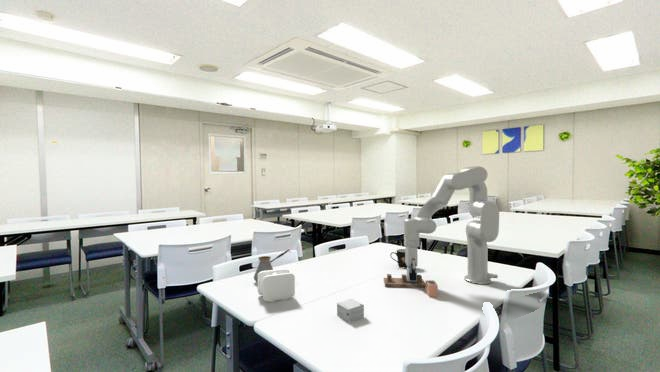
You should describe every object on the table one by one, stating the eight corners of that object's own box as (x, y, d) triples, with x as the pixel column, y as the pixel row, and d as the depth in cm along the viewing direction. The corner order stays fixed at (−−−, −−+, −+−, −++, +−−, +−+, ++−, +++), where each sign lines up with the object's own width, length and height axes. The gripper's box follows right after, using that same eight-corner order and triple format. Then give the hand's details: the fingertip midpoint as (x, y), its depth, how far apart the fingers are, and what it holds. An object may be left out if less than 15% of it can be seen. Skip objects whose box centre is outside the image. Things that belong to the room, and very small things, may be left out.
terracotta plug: (434, 292, 147) (434, 280, 147) (437, 297, 140) (437, 284, 140) (425, 291, 147) (425, 280, 147) (428, 297, 141) (428, 284, 141)
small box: (336, 315, 122) (336, 302, 122) (352, 310, 127) (352, 298, 127) (348, 322, 116) (348, 309, 116) (364, 317, 120) (364, 304, 120)
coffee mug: (412, 266, 191) (412, 249, 191) (408, 269, 184) (408, 252, 184) (394, 263, 198) (394, 247, 197) (389, 266, 190) (389, 250, 190)
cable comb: (422, 281, 162) (422, 272, 162) (426, 287, 152) (426, 278, 152) (383, 280, 164) (383, 272, 164) (385, 286, 154) (385, 277, 154)
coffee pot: (259, 287, 155) (259, 257, 155) (250, 281, 164) (249, 253, 164) (295, 278, 169) (295, 251, 168) (285, 273, 178) (284, 247, 177)
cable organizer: (261, 304, 134) (261, 277, 134) (257, 295, 144) (257, 270, 144) (295, 298, 140) (294, 273, 140) (288, 291, 150) (288, 267, 149)
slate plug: (414, 277, 161) (414, 266, 161) (416, 281, 154) (416, 270, 154) (406, 277, 161) (406, 266, 161) (408, 281, 155) (408, 270, 155)
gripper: (401, 239, 166) (401, 273, 167) (406, 246, 149) (406, 283, 150) (416, 239, 166) (416, 273, 166) (422, 246, 149) (422, 284, 149)
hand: (411, 277), depth 158 cm, fingers closed on slate plug, 6 cm apart
